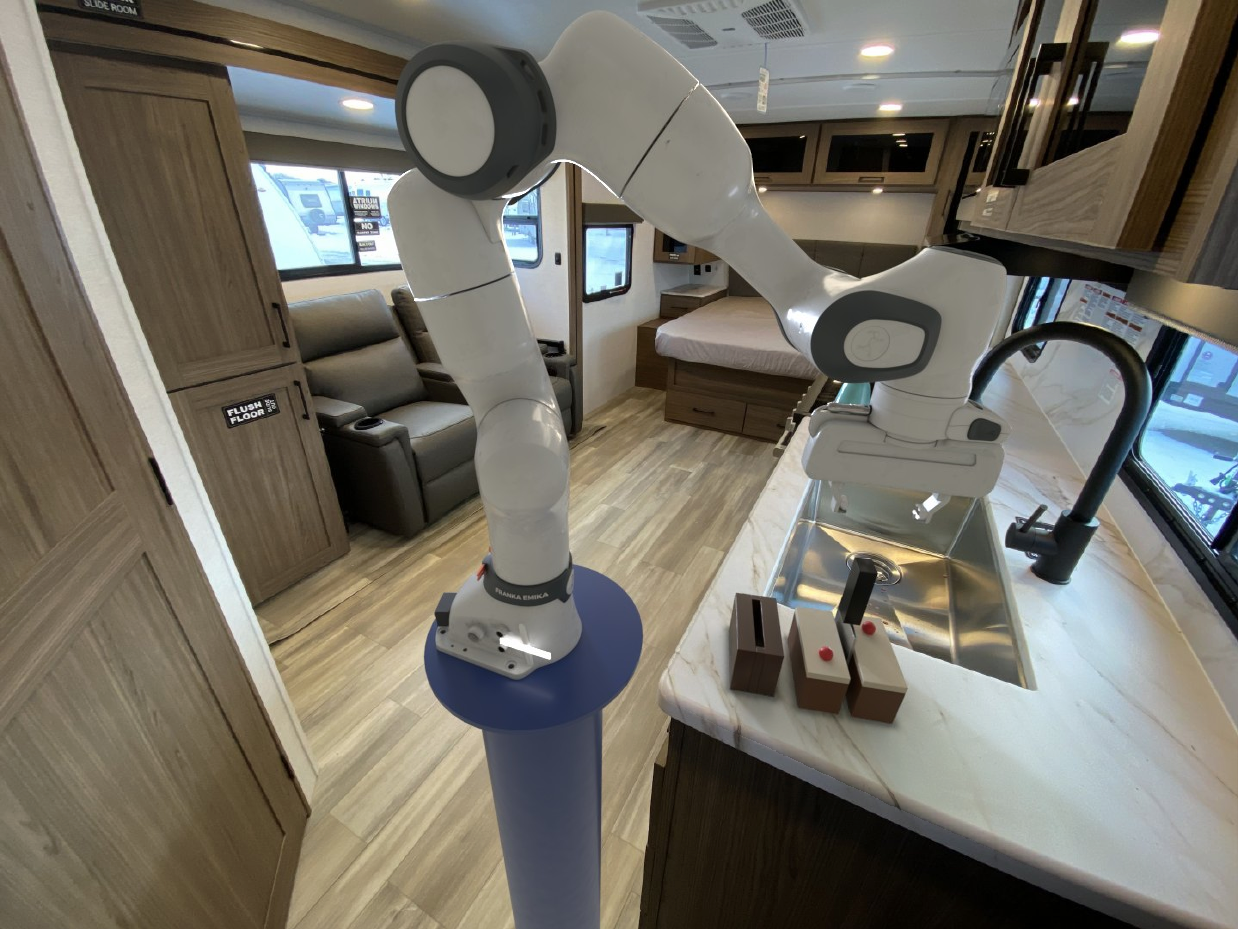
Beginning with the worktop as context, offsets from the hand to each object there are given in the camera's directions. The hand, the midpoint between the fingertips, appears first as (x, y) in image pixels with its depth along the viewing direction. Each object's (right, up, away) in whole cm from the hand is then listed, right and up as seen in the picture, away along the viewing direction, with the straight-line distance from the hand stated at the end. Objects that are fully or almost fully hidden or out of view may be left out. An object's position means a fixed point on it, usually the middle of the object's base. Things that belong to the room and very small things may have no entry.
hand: (878, 515), depth 60 cm
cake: (-1, -25, +10) cm, 27 cm away
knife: (0, -24, +12) cm, 27 cm away
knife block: (-12, -23, +13) cm, 29 cm away
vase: (+36, +15, +87) cm, 95 cm away
